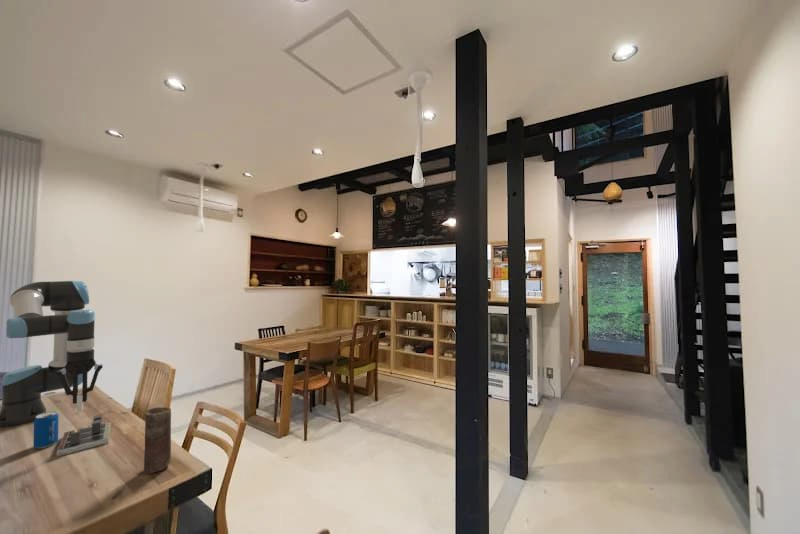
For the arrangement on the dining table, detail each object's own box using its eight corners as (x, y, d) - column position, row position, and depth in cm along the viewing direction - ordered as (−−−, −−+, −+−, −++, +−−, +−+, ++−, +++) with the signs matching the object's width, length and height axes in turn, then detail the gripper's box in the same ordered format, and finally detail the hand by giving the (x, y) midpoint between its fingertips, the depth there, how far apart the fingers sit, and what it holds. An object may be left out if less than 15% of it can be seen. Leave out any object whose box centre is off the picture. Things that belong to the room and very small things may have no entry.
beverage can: (41, 450, 120) (41, 419, 121) (28, 448, 122) (29, 417, 122) (62, 441, 127) (63, 411, 127) (50, 440, 128) (50, 410, 128)
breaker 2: (92, 430, 130) (93, 420, 130) (100, 428, 132) (101, 419, 132) (92, 434, 128) (92, 424, 128) (100, 432, 129) (100, 422, 129)
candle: (154, 461, 113) (154, 405, 113) (175, 460, 113) (176, 404, 114) (138, 475, 105) (139, 415, 106) (161, 474, 106) (162, 414, 106)
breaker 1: (94, 425, 135) (94, 415, 135) (101, 423, 136) (102, 414, 136) (93, 428, 132) (93, 418, 132) (101, 426, 134) (101, 417, 134)
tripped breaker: (71, 441, 122) (72, 430, 122) (80, 438, 124) (80, 428, 124) (70, 444, 119) (70, 433, 120) (79, 442, 121) (79, 431, 121)
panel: (64, 437, 130) (64, 432, 130) (110, 426, 139) (110, 421, 139) (56, 456, 116) (56, 450, 116) (108, 443, 125) (108, 437, 125)
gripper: (54, 354, 116) (53, 419, 115) (103, 349, 124) (102, 409, 124) (57, 350, 122) (56, 412, 121) (104, 345, 130) (103, 403, 130)
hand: (79, 410), depth 123 cm, fingers closed
